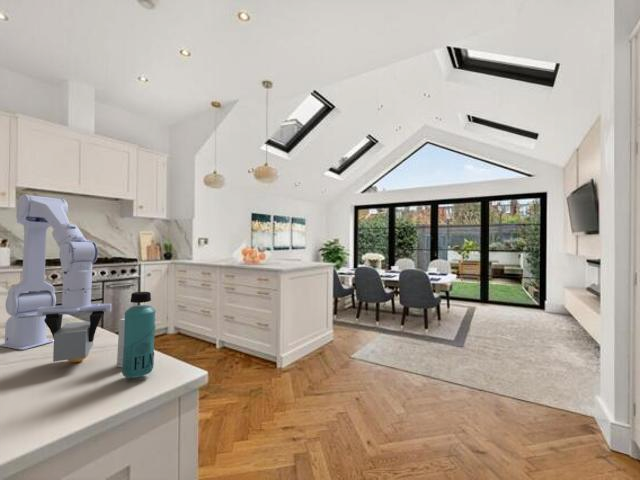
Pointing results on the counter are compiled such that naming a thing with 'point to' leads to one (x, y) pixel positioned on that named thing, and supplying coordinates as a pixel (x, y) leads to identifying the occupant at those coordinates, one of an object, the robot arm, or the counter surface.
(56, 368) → the counter surface
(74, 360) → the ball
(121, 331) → the skincare box
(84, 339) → the tall gray prism
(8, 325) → the robot arm
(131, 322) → the beverage bottle
